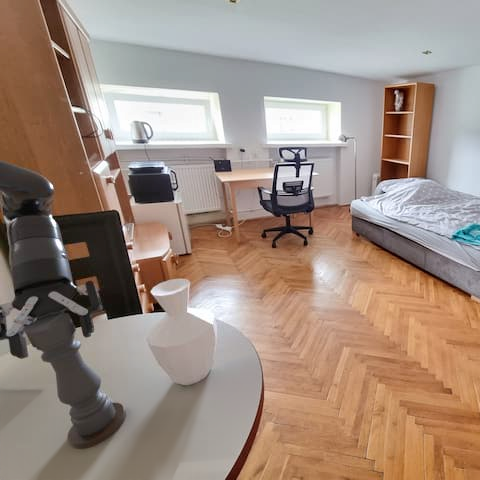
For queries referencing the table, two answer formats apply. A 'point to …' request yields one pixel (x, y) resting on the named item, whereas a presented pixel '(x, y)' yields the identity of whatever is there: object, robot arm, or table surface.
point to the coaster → (101, 435)
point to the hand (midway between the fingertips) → (56, 346)
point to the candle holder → (71, 373)
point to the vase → (182, 334)
